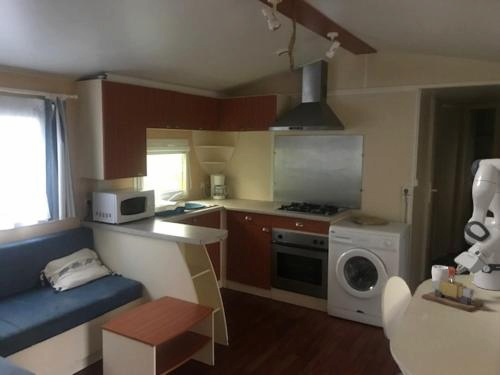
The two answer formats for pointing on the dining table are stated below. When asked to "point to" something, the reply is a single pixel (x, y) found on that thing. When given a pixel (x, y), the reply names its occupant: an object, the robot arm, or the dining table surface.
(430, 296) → the board
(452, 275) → the lever
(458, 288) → the valve
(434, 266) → the cup
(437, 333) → the dining table surface
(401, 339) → the dining table surface
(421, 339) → the dining table surface
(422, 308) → the dining table surface
